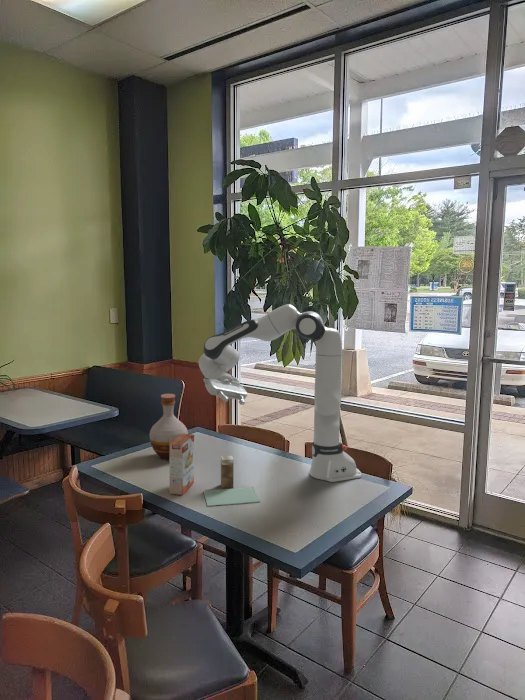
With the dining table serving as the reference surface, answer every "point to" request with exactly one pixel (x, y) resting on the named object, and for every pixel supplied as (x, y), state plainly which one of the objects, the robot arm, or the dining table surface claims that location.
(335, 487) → the dining table surface
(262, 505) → the dining table surface
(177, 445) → the cracker box
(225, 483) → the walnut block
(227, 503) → the rubber mat
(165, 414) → the jug
